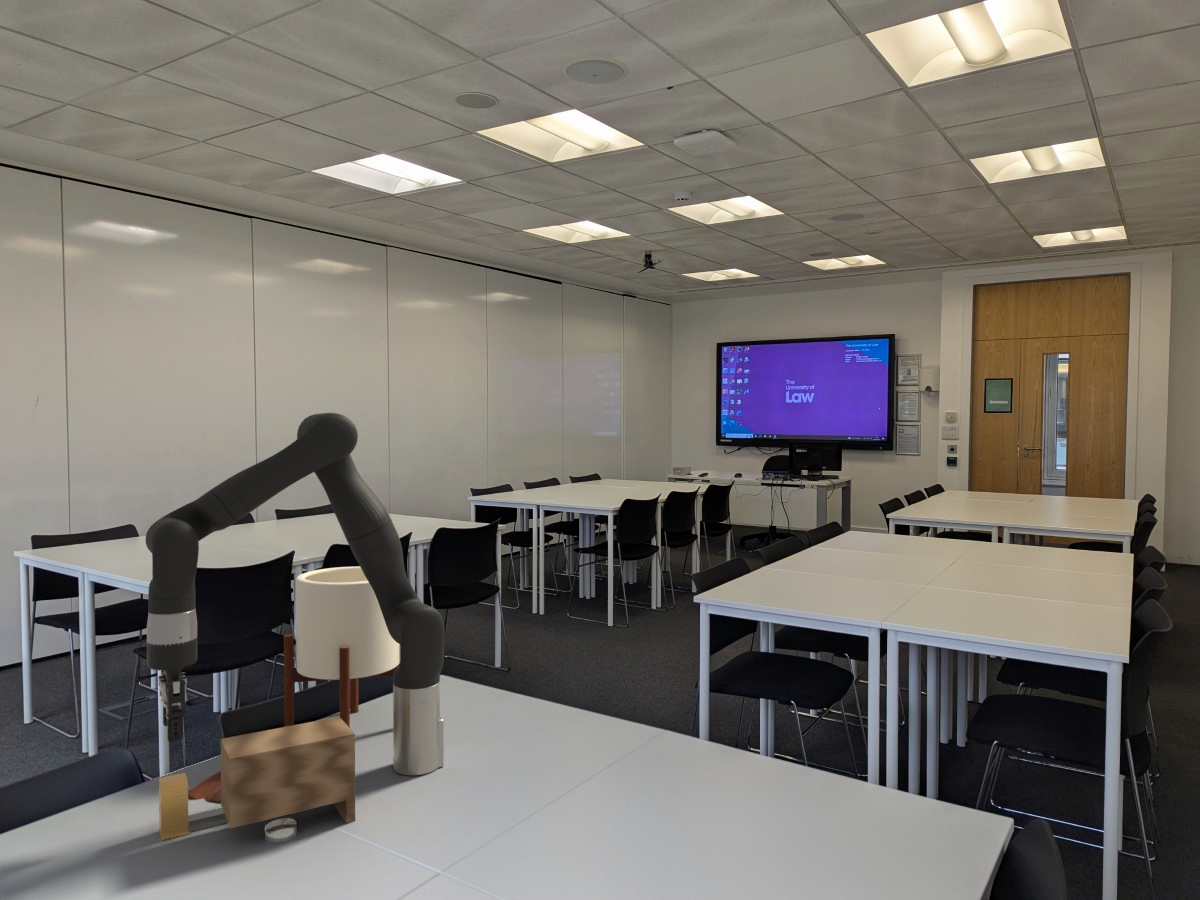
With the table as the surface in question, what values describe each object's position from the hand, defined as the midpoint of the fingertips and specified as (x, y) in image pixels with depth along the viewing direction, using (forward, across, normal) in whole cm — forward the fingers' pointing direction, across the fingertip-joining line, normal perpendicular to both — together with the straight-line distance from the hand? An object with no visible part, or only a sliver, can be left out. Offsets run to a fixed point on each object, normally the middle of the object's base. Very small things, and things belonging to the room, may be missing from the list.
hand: (172, 732), depth 135 cm
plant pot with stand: (+17, +30, -38) cm, 52 cm away
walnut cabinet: (+17, -8, -17) cm, 25 cm away
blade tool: (+17, 0, -9) cm, 19 cm away
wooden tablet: (+18, +19, -15) cm, 30 cm away
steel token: (+17, -11, -15) cm, 25 cm away
